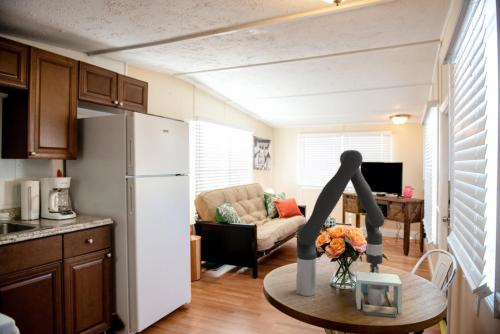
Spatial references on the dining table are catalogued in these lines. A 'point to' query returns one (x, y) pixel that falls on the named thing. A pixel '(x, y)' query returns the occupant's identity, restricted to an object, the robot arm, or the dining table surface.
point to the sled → (378, 308)
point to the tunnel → (380, 280)
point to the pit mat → (380, 314)
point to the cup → (376, 294)
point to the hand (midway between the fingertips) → (374, 287)
